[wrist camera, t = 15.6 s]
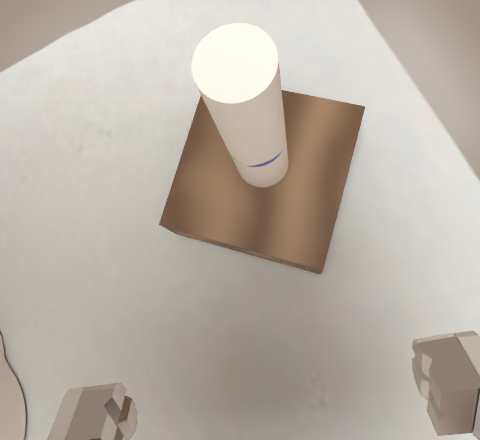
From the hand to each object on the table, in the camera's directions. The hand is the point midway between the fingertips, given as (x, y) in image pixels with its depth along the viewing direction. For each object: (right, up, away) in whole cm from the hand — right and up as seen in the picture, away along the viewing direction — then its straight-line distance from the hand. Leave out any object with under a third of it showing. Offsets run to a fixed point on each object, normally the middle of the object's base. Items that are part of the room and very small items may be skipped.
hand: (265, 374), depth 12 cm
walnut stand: (+2, +8, +28) cm, 29 cm away
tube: (+1, +9, +23) cm, 25 cm away
